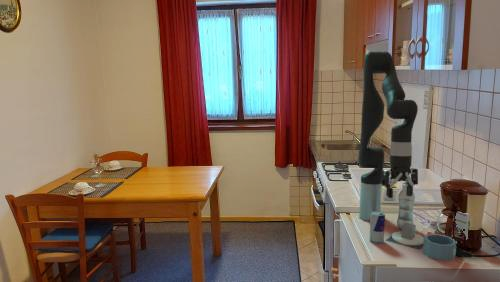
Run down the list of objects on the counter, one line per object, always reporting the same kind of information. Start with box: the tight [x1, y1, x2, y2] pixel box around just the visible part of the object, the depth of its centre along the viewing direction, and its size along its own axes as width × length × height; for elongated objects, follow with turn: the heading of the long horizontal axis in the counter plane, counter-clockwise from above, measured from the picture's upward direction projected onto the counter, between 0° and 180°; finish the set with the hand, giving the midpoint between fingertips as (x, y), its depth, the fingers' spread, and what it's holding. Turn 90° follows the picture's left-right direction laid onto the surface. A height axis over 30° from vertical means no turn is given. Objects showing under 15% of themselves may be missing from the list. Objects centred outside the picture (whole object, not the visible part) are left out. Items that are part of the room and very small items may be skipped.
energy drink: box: [368, 210, 386, 245], centre depth 150 cm, size 5×5×12 cm
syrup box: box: [455, 212, 470, 240], centre depth 146 cm, size 6×6×14 cm
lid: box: [391, 223, 425, 247], centre depth 152 cm, size 12×12×6 cm
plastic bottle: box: [396, 182, 416, 230], centre depth 162 cm, size 6×7×20 cm
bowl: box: [422, 233, 457, 262], centre depth 139 cm, size 10×10×6 cm
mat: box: [385, 230, 423, 250], centre depth 152 cm, size 13×13×1 cm
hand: (399, 196), depth 143 cm, fingers open, 8 cm apart
